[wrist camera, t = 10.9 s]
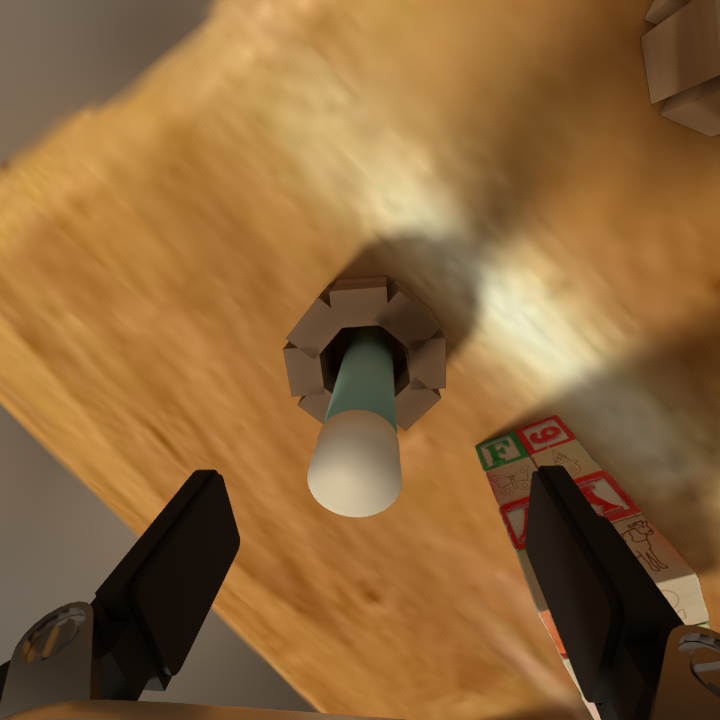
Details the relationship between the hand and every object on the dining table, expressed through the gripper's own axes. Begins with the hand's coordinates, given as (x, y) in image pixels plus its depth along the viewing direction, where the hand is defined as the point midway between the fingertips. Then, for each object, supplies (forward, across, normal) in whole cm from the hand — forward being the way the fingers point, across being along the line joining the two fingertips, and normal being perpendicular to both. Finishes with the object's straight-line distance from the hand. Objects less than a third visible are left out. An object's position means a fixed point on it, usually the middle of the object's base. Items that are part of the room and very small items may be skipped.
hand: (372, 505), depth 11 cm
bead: (+14, +1, 0) cm, 14 cm away
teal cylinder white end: (+14, +1, 0) cm, 14 cm away
